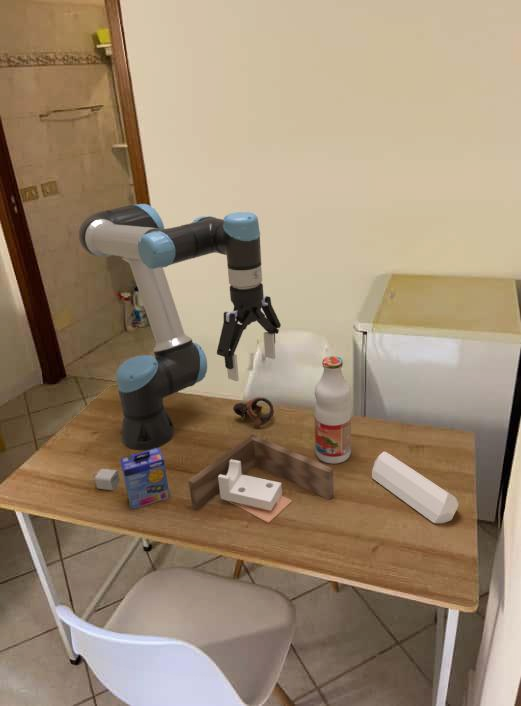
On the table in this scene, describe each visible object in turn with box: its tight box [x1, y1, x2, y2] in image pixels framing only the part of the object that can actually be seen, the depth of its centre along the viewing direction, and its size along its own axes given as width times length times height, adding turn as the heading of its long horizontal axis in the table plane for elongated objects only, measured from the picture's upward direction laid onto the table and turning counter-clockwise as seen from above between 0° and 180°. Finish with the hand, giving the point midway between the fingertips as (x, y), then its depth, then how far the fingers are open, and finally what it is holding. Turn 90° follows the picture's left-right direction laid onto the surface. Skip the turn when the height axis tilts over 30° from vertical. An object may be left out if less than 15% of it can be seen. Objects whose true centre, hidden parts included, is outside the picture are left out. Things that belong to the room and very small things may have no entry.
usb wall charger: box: [88, 468, 121, 491], centre depth 141 cm, size 4×7×4 cm, turn 75°
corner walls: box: [188, 433, 334, 511], centre depth 131 cm, size 25×23×8 cm
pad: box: [225, 494, 293, 524], centre depth 133 cm, size 15×9×1 cm, turn 50°
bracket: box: [218, 459, 283, 511], centre depth 132 cm, size 13×7×8 cm, turn 67°
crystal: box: [371, 451, 460, 524], centre depth 130 cm, size 7×7×24 cm
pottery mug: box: [232, 396, 275, 429], centre depth 164 cm, size 12×10×8 cm
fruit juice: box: [313, 355, 352, 465], centre depth 142 cm, size 9×9×28 cm
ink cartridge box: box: [119, 447, 171, 510], centre depth 133 cm, size 10×6×14 cm, turn 113°
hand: (252, 368), depth 133 cm, fingers open, 13 cm apart
